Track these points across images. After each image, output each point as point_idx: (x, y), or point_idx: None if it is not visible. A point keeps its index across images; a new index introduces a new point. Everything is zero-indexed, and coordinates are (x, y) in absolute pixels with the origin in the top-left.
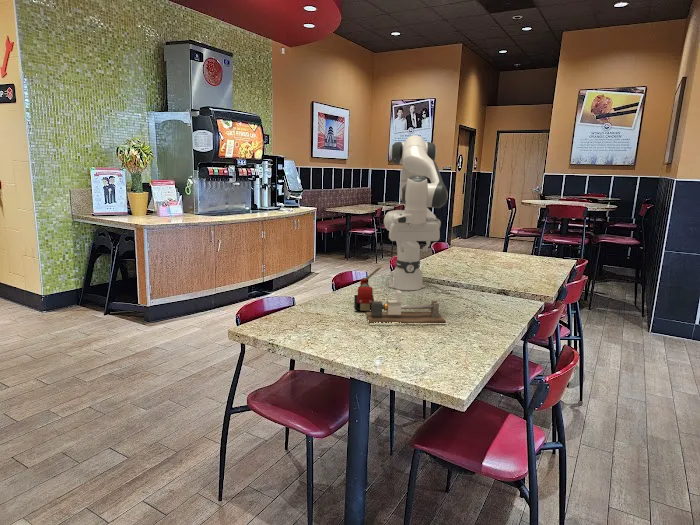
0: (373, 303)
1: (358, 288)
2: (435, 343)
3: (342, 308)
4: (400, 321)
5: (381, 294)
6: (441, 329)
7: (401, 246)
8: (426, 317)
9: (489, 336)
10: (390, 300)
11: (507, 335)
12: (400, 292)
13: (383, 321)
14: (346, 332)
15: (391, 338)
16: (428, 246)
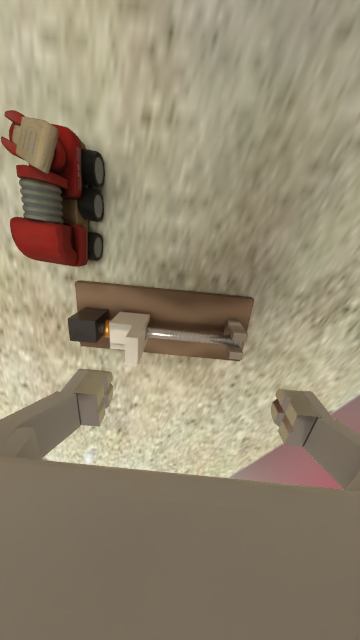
0: (72, 336)
1: (12, 234)
2: (182, 423)
3: (16, 213)
4: (145, 351)
5: (151, 31)
6: (218, 375)
7: (65, 436)
8: None
9: None
10: (117, 332)
11: None
12: (133, 364)
13: (109, 347)
14: (41, 368)
15: (118, 399)
16: (333, 464)
